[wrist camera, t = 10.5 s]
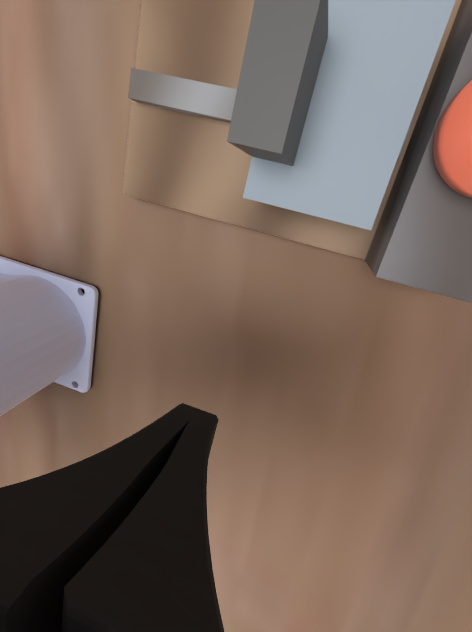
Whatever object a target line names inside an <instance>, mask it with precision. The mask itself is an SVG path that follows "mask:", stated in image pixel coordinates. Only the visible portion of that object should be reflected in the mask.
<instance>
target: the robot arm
mask: <svg viewBox="0 0 472 632" xmlns="http://www.w3.org/2000/svg"><path fill="white" fill-rule="evenodd" d="M82 288H83V289H84V291H85V294H84V293H83V292H82ZM97 307H98V290H97V289H96V288H95V287H94V286H92V285H90V284H86V283H83V282H80V281H77V280H74V279H71V278H68V277H65V276H61V275H58V274H55V273H52V272H49V271H46V270H43V269H40V268H36V267H33V266H30V265H27V264H24V263H21V262H18V261H15V260H11V259H8V258H5V257H2V256H0V416H2V415H3V414H5V413H7V412H8V411H10V410H11V409H13V408H14V407H16V406H17V405H19V404H20V403H22V402H23V401H25V400H26V399H28V398H29V397H31V396H33V395H34V394H36V393H37V392H39V391H40V390H42V389H43V388H45V387H46V386H48V385H49V384H51V383H52V382H55V383H58V384H60V385H63V386H66V387H68V388H71V389H74V390H76V391H79V392H82V393H85V392H87V391H88V390H89V389H90V387H91V376H92V365H93V353H94V342H95V330H96V318H97ZM76 382H77V383H78V384H77V383H76ZM217 423H218V418H217V416H216V415H213V414H211V413H208V412H205V411H202V410H200V409H197V408H194V407H191V406H189V405H186V404H183V403H182V404H180V405H178V406H177V407H175V408H174V409H172V410H171V411H169V412H168V413H167V414H165V415H164V416H162V417H161V418H159V419H158V420H156V421H155V422H153V423H151V424H150V425H148V426H147V427H145V428H143V429H142V430H140V431H138V432H137V433H135V434H133V435H132V436H130V437H128V438H126V439H124V440H123V441H121V442H119V443H117V444H115V445H113V446H112V447H110V448H108V449H106V450H104V451H102V452H99V453H97V454H95V455H93V456H91V457H89V458H86V459H84V460H82V461H79V462H77V463H75V464H72V465H69V466H67V467H64V468H62V469H59V470H56V471H54V472H51V473H48V474H45V475H42V476H39V477H36V478H33V479H30V480H27V481H23V482H20V483H16V484H13V485H9V486H6V487H2V488H0V632H224V628H223V624H222V619H221V614H220V609H219V604H218V599H217V594H216V588H215V582H214V576H213V570H212V562H211V553H210V545H209V537H208V523H207V502H206V487H207V465H208V458H209V454H210V450H211V446H212V442H213V438H214V434H215V430H216V427H217Z"/></svg>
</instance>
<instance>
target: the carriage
mask: <svg viewBox="0 0 472 632" xmlns="http://www.w3.org/2000/svg"><path fill="white" fill-rule="evenodd" d="M455 1H456V0H255V1H254V6H253V11H252V16H251V21H250V26H249V31H248V36H247V41H246V46H245V52H244V57H243V62H242V67H241V72H240V77H239V82H238V87H237V92H236V97H235V102H234V107H233V112H232V117H231V123H230V128H229V133H228V138H227V142H229V143H231V144H232V145H234V146H235V147H237V148H239V149H240V150H242V151H244V152H245V153H247V154H249V155H250V156H252V159H251V163H250V168H249V172H248V177H247V181H246V186H245V190H244V194H243V198H246V199H250V200H254V201H258V202H262V203H266V204H269V205H273V206H277V207H281V208H285V209H289V210H293V211H297V212H301V213H305V214H309V215H313V216H316V217H320V218H324V219H328V220H332V221H336V222H340V223H344V224H348V225H352V226H356V227H359V228H363V229H367V230H371V229H372V227H373V224H374V221H375V218H376V216H377V213H378V210H379V207H380V205H381V202H382V199H383V197H384V194H385V191H386V188H387V186H388V183H389V180H390V178H391V175H392V172H393V169H394V167H395V164H396V161H397V159H398V156H399V153H400V150H401V148H402V145H403V142H404V140H405V137H406V134H407V131H408V129H409V126H410V123H411V121H412V118H413V115H414V112H415V110H416V107H417V104H418V102H419V99H420V96H421V93H422V91H423V88H424V85H425V82H426V80H427V77H428V74H429V72H430V69H431V66H432V63H433V61H434V58H435V55H436V53H437V50H438V47H439V44H440V42H441V39H442V36H443V34H444V31H445V28H446V25H447V23H448V20H449V17H450V15H451V12H452V9H453V6H454V4H455Z"/></svg>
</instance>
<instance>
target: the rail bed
mask: <svg viewBox="0 0 472 632" xmlns="http://www.w3.org/2000/svg"><path fill="white" fill-rule="evenodd" d="M254 1H255V0H142V3H141V13H140V23H139V32H138V42H137V52H136V62H135V68H131V75H130V85H129V95H128V98H130V99H132V101H131V111H130V121H129V131H128V141H127V151H126V161H125V171H124V180H123V190H122V195H126V196H130V197H133V198H137V199H141V200H145V201H148V202H152V203H156V204H159V205H163V206H167V207H171V208H174V209H178V210H182V211H185V212H189V213H193V214H197V215H200V216H204V217H208V218H211V219H215V220H219V221H223V222H226V223H230V224H234V225H237V226H241V227H245V228H248V229H252V230H256V231H260V232H263V233H267V234H271V235H274V236H278V237H282V238H286V239H289V240H293V241H297V242H300V243H304V244H308V245H312V246H315V247H319V248H323V249H326V250H330V251H334V252H338V253H341V254H345V255H349V256H352V257H356V258H360V259H363V260H365V261H366V262H367V264H368V265H369V267H370V268H371V270H372V272H373V273H374V275H375V276H376V277H379V278H382V279H386V280H390V281H393V282H397V283H401V284H404V285H408V286H411V287H415V288H419V289H422V290H426V291H430V292H433V293H437V294H440V295H444V296H448V297H451V298H455V299H459V300H462V301H466V302H469V303H472V198H469V197H466V196H463V195H461V194H459V193H457V192H456V191H454V190H453V189H451V188H450V187H449V186H448V185H447V184H446V183H445V182H444V180H443V179H442V178H441V176H440V174H439V172H438V170H437V168H436V165H435V161H434V155H433V142H434V136H435V131H436V128H437V125H438V122H439V120H440V118H441V116H442V113H443V112H444V110H445V109H446V107H447V105H448V104H449V103H450V101H451V100H452V99H453V97H454V96H455V95H456V94H457V93H458V92H459V91H460V90H461V89H462V88H463V87H464V86H465V85H467V84H468V83H469V82H470V81H471V80H472V0H456V1H455V4H454V6H453V9H452V12H451V15H450V17H449V20H448V23H447V25H446V28H445V31H444V34H443V36H442V39H441V42H440V44H439V47H438V50H437V53H436V55H435V58H434V61H433V63H432V66H431V69H430V72H429V74H428V77H427V80H426V82H425V85H424V88H423V91H422V93H421V96H420V99H419V102H418V104H417V107H416V110H415V112H414V115H413V118H412V121H411V123H410V126H409V129H408V131H407V134H406V137H405V140H404V142H403V145H402V148H401V150H400V153H399V156H398V159H397V161H396V164H395V167H394V169H393V172H392V175H391V178H390V180H389V183H388V186H387V188H386V191H385V194H384V197H383V199H382V202H381V205H380V207H379V210H378V213H377V216H376V218H375V221H374V224H373V227H372V229H371V230H367V229H363V228H359V227H356V226H352V225H348V224H344V223H340V222H336V221H332V220H328V219H324V218H320V217H316V216H313V215H309V214H305V213H301V212H297V211H293V210H289V209H285V208H281V207H277V206H273V205H269V204H266V203H262V202H258V201H254V200H250V199H246V198H243V194H244V190H245V186H246V181H247V177H248V172H249V168H250V163H251V159H252V156H250V155H249V154H247V153H245V152H244V151H242V150H240V149H239V148H237V147H235V146H234V145H232V144H231V143H229V142H227V138H228V133H229V128H230V123H231V117H232V112H233V107H234V102H235V97H236V92H237V87H238V82H239V77H240V72H241V67H242V62H243V57H244V52H245V46H246V41H247V36H248V31H249V26H250V21H251V16H252V11H253V6H254Z"/></svg>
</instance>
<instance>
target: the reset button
mask: <svg viewBox="0 0 472 632" xmlns="http://www.w3.org/2000/svg"><path fill="white" fill-rule="evenodd" d="M433 155H434V161H435V165H436V168H437V170H438V172H439V174H440V176H441V178H442V179H443V180H444V182H445V183H446V184H447V185H448V186H449V187H450V188H451V189H453V190H454V191H456V192H457V193H459V194H461V195H463V196H466V197H469V198H472V80H471V81H470V82H469V83H468V84H467V85H465V86H464V87H463V88H462V89H461V90H460V91H459V92H458V93H457V94H456V95H455V96H454V97H453V99H452V100H451V101H450V103H449V104H448V105H447V107H446V109H445V110H444V112H443V113H442V116H441V118H440V120H439V122H438V125H437V128H436V131H435V136H434V142H433Z"/></svg>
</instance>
